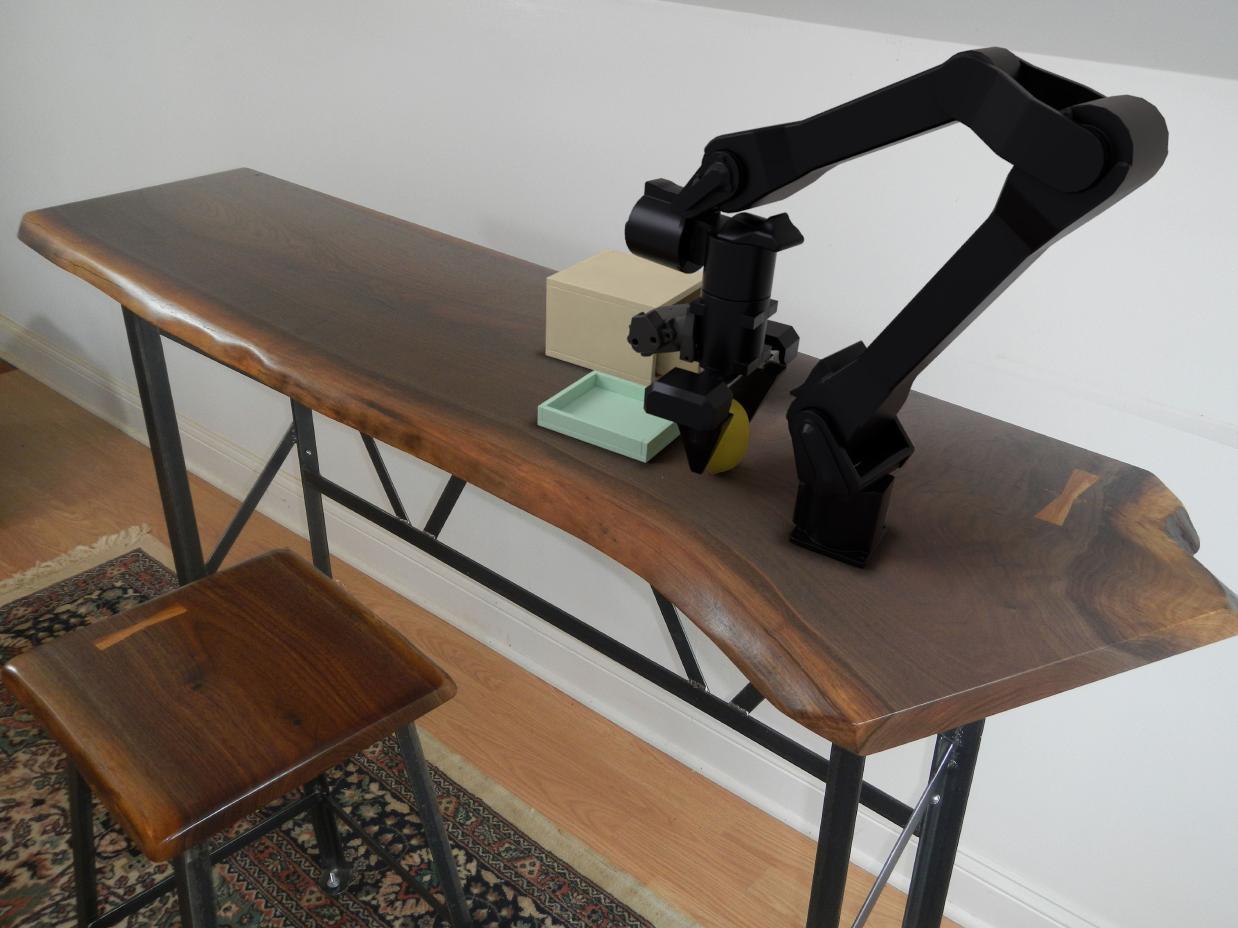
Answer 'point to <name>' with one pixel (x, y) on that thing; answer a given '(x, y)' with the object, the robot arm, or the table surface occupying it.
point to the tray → (608, 416)
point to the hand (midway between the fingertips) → (716, 454)
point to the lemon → (731, 442)
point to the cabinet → (609, 311)
